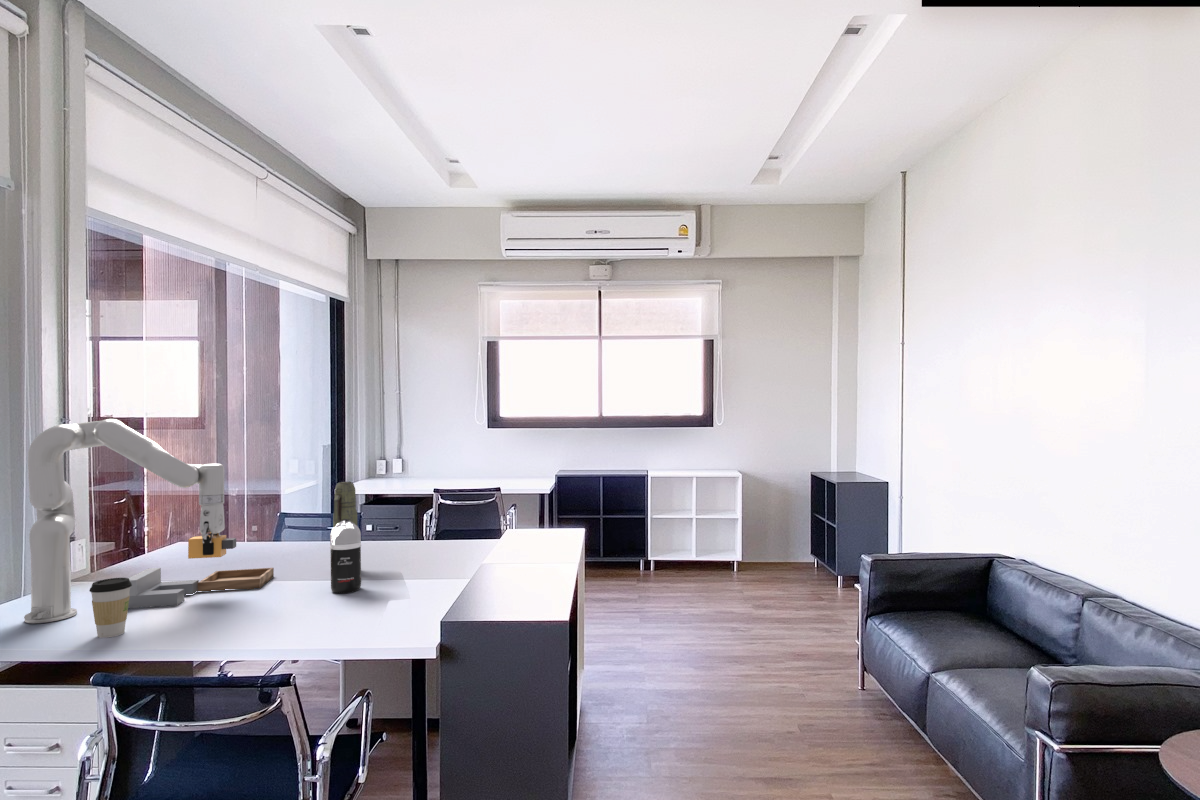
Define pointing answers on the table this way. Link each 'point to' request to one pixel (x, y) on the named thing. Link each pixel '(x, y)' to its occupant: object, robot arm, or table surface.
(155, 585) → the dock
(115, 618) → the coffee cup
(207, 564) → the table surface
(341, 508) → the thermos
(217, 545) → the orange wooden block
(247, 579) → the tray
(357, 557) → the spray bottle
